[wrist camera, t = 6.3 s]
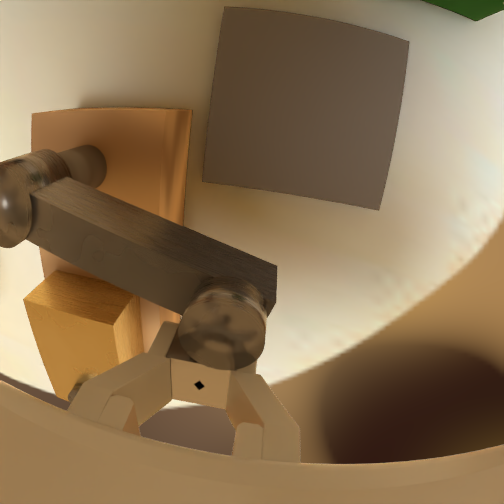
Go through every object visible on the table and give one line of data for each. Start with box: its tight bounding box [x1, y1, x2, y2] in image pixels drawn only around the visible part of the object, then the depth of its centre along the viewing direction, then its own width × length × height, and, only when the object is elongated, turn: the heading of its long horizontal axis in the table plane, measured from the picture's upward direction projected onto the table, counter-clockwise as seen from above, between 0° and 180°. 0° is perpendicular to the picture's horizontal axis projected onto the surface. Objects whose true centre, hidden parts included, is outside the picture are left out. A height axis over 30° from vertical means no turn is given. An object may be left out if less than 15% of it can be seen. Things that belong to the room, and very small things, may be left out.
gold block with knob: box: [23, 270, 144, 403], centre depth 14 cm, size 7×5×4 cm
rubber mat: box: [202, 7, 409, 210], centre depth 14 cm, size 9×9×1 cm
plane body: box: [31, 108, 192, 353], centre depth 15 cm, size 16×7×7 cm, turn 173°
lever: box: [0, 149, 277, 370], centre depth 8 cm, size 10×3×4 cm, turn 67°
